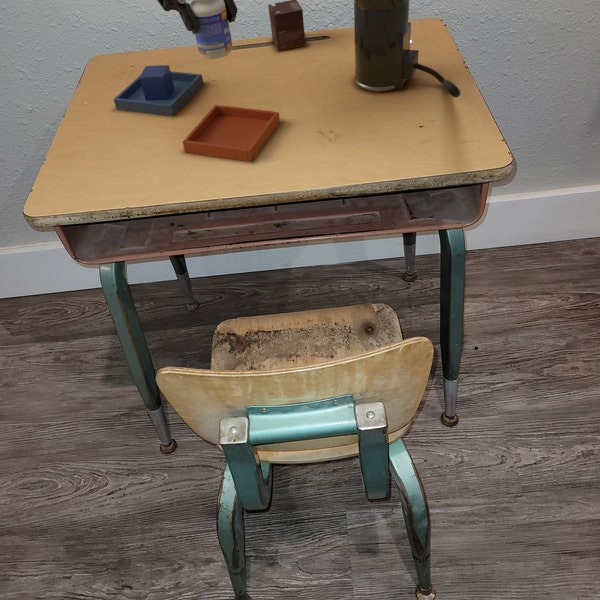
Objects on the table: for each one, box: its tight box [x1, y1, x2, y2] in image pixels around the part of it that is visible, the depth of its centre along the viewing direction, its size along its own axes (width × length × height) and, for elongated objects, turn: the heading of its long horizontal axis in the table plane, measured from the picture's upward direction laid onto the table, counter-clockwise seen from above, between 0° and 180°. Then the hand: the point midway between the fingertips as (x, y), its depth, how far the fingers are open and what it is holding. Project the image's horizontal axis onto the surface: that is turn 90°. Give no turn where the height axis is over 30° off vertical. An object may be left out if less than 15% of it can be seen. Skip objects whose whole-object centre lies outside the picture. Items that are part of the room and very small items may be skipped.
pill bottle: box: [189, 0, 233, 60], centre depth 89 cm, size 5×5×10 cm
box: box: [267, 0, 306, 51], centre depth 122 cm, size 6×6×7 cm
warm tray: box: [182, 104, 281, 163], centre depth 100 cm, size 12×12×2 cm
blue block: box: [138, 64, 174, 100], centre depth 111 cm, size 4×4×4 cm
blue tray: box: [112, 70, 204, 117], centre depth 112 cm, size 12×12×2 cm
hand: (215, 24), depth 88 cm, fingers closed on pill bottle, 5 cm apart
